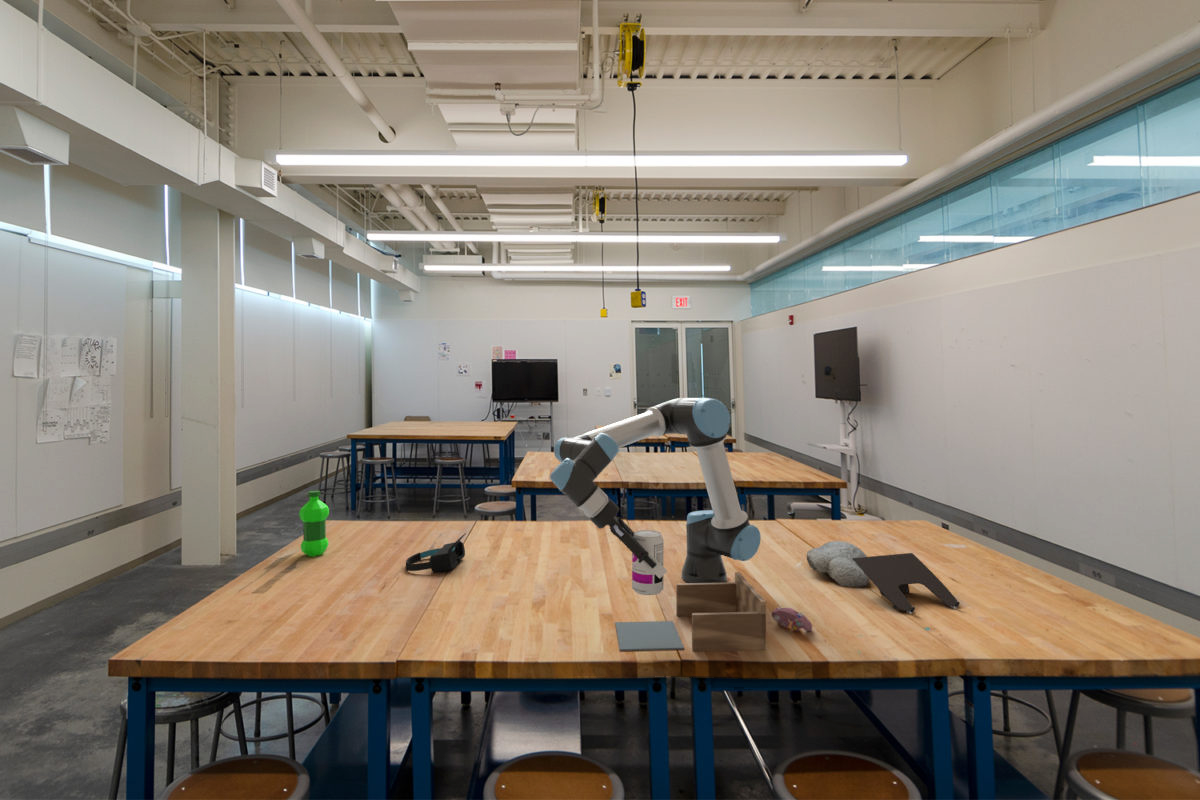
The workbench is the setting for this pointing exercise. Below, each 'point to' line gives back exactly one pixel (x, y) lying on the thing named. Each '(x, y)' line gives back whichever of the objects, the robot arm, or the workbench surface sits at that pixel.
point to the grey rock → (839, 563)
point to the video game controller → (791, 619)
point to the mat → (648, 636)
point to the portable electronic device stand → (903, 578)
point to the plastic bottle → (314, 525)
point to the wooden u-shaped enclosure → (723, 615)
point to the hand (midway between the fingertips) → (660, 568)
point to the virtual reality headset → (438, 558)
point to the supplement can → (641, 574)
